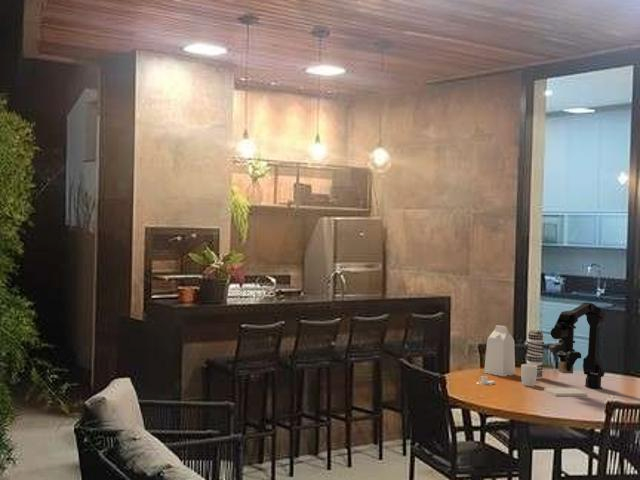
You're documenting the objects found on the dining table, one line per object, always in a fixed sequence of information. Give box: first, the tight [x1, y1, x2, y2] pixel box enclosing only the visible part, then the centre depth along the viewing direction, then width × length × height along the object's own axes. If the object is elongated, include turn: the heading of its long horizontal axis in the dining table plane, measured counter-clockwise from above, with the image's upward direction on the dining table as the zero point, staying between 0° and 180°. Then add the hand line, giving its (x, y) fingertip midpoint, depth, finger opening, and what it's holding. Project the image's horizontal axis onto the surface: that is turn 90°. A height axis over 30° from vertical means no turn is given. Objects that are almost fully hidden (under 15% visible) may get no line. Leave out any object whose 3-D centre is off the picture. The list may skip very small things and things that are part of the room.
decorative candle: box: [526, 329, 545, 380], centre depth 420 cm, size 9×9×25 cm
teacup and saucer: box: [476, 375, 495, 386], centre depth 398 cm, size 9×8×4 cm
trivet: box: [544, 387, 588, 397], centre depth 380 cm, size 16×12×1 cm
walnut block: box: [558, 360, 574, 374], centre depth 380 cm, size 5×5×5 cm
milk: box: [483, 324, 516, 377], centre depth 428 cm, size 12×12×26 cm
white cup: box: [520, 363, 537, 387], centre depth 398 cm, size 8×8×10 cm
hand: (566, 370), depth 380 cm, fingers closed on walnut block, 5 cm apart
